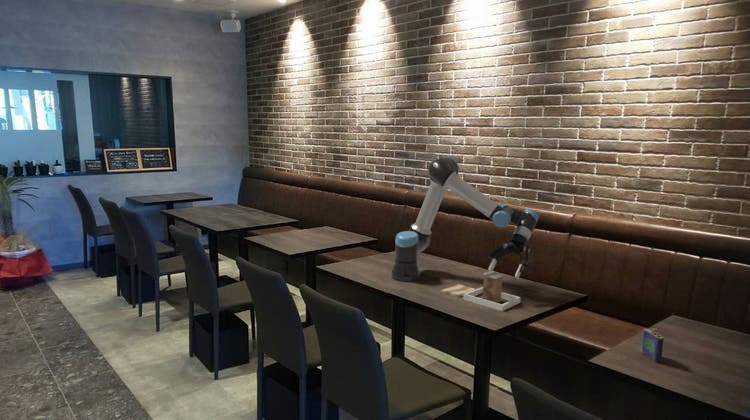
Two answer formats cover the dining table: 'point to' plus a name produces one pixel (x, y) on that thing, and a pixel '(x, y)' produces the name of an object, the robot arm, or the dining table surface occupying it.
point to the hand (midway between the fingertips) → (502, 274)
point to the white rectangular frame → (501, 307)
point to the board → (457, 290)
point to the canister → (492, 286)
